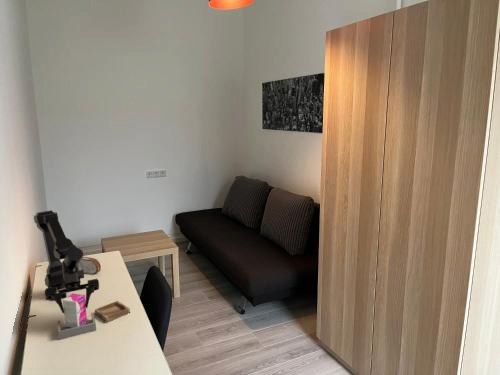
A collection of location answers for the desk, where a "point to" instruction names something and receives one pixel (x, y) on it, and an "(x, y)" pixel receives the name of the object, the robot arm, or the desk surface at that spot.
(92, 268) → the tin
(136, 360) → the desk surface
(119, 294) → the desk surface
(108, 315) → the tray
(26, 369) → the desk surface
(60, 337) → the stall
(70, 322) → the supplement box
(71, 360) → the desk surface
